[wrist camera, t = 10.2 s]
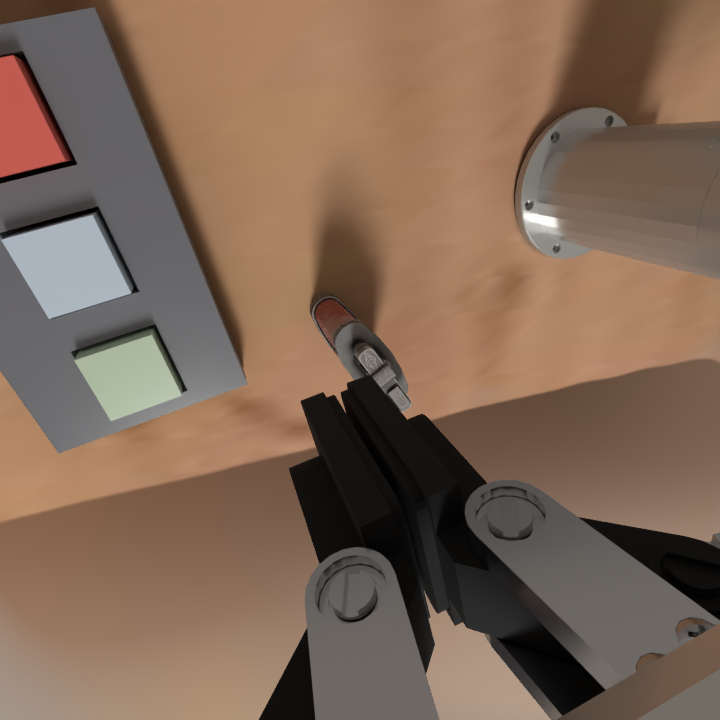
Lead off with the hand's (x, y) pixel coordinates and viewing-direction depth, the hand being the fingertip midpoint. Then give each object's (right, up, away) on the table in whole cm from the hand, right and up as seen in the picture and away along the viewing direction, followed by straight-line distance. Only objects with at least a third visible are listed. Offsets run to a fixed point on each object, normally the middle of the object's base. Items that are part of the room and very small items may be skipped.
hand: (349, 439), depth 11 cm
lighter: (-1, +4, +29) cm, 30 cm away
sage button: (-17, +2, +24) cm, 29 cm away
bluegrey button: (-18, +9, +20) cm, 28 cm away
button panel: (-19, +9, +20) cm, 29 cm away
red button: (-20, +16, +16) cm, 30 cm away
